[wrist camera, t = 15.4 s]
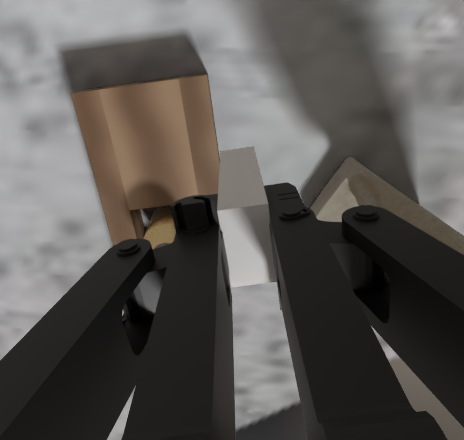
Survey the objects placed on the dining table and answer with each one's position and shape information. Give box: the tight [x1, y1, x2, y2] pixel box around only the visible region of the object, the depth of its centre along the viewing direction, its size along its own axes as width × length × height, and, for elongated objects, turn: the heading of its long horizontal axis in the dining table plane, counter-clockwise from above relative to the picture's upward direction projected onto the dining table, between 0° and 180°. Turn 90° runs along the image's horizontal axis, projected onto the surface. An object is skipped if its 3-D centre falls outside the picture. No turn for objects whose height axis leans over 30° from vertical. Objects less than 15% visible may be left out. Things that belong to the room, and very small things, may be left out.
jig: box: [71, 73, 231, 287], centre depth 39 cm, size 12×22×4 cm, turn 7°
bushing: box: [144, 205, 176, 249], centre depth 39 cm, size 5×5×8 cm
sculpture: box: [310, 157, 464, 255], centre depth 29 cm, size 15×8×30 cm, turn 56°
